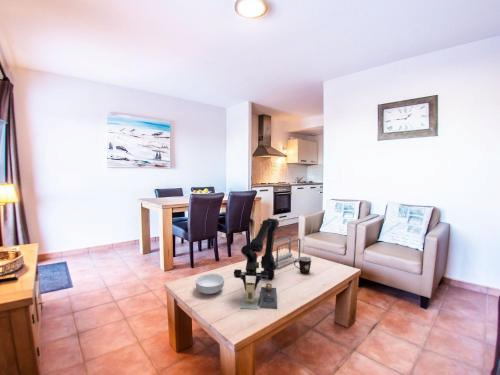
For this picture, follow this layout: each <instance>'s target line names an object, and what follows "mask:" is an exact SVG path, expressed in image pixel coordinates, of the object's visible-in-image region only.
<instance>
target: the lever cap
mask: <svg viewBox="0 0 500 375" xmlns="http://www.w3.org/2000/svg"><path fill="white" fill-rule="evenodd" d="M254 286H255V282H246V290H245V297H246V302H254V298H255V291H256V290H255V291H254Z"/></svg>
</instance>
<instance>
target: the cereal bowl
mask: <svg viewBox="0 0 500 375" xmlns="http://www.w3.org/2000/svg"><path fill="white" fill-rule="evenodd" d="M224 285H225V278H224V276H223V275H221V274H219V273H205V274H201V275H199V276H198V277H197V278H196V279H195V287H196V289H197V291H199V292H200V293H202V294H205V295H212V294H216V293H218V292H220V291H221V290H222V289H223V288H224Z"/></svg>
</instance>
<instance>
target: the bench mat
mask: <svg viewBox="0 0 500 375" xmlns="http://www.w3.org/2000/svg"><path fill="white" fill-rule="evenodd" d="M259 301H260V297H254V302H246V296H242V299H241V303H240V309H241V310H242V309H243V310H244V309H245V310H246V309H247V310H258V309H259Z"/></svg>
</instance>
